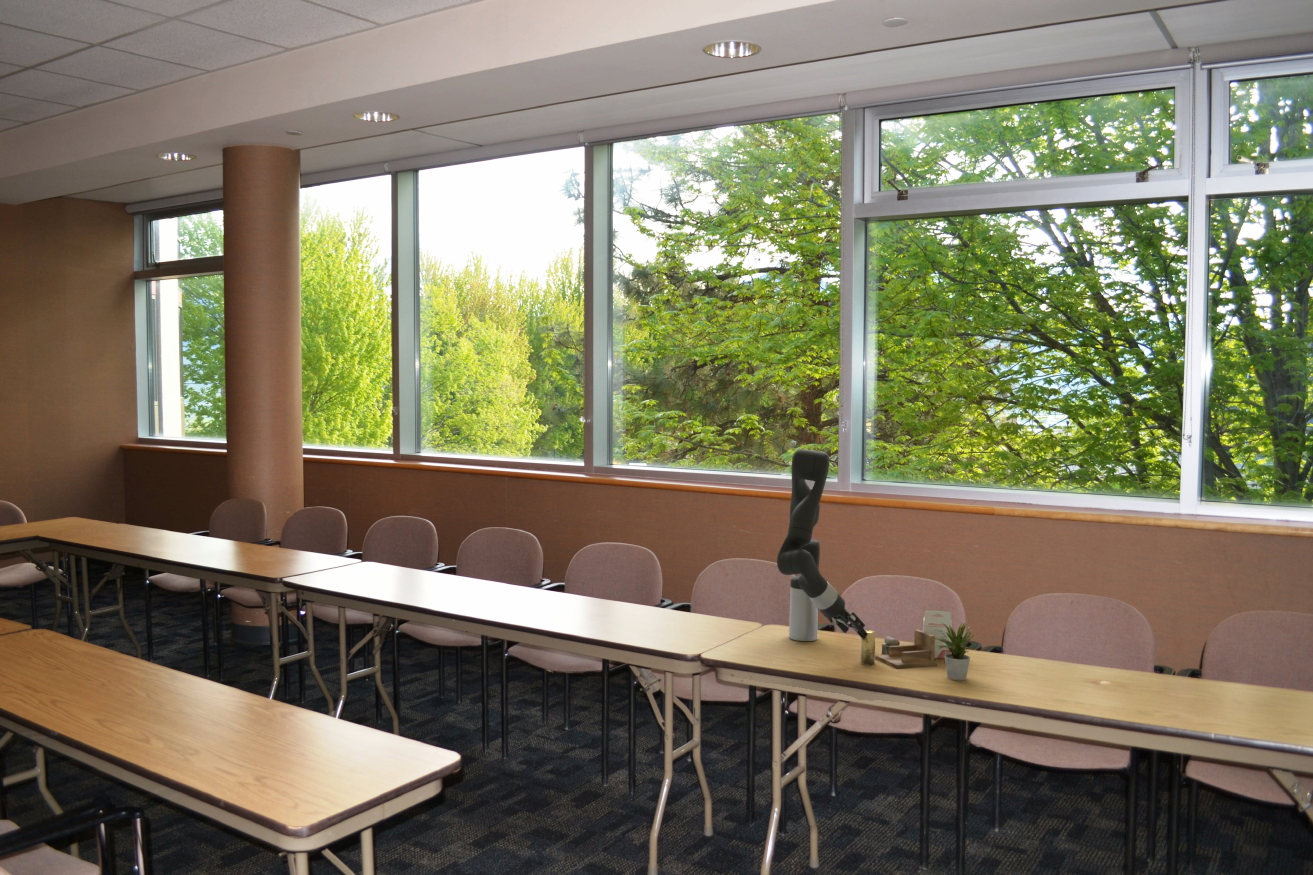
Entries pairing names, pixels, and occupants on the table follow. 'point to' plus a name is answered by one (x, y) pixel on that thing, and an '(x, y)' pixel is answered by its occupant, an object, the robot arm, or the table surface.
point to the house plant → (956, 652)
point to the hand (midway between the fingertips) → (855, 633)
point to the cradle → (909, 651)
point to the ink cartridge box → (935, 623)
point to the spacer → (868, 648)
